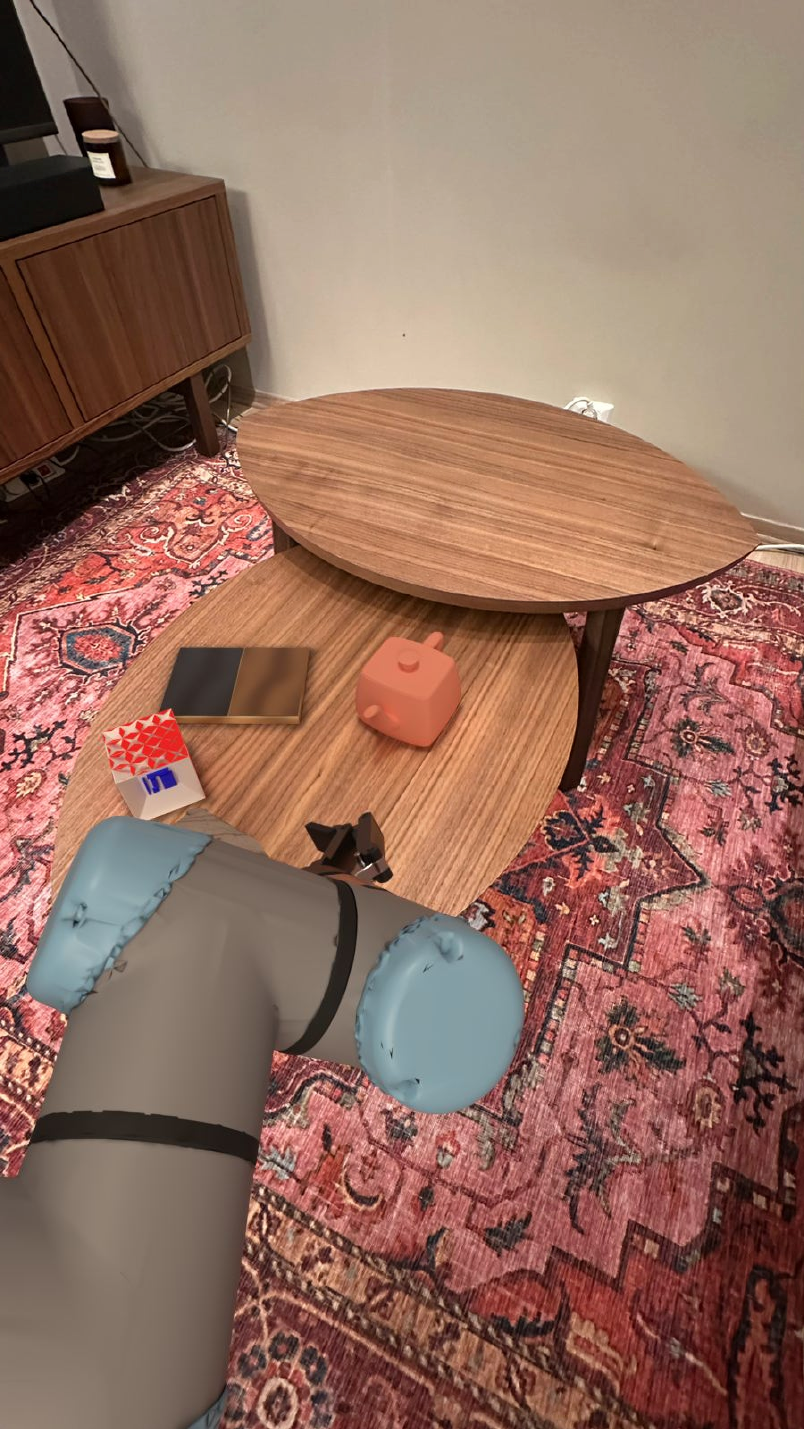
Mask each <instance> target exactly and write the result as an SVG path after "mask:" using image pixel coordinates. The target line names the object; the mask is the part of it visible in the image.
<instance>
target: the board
mask: <svg viewBox="0 0 804 1429" xmlns="http://www.w3.org/2000/svg"><path fill="white" fill-rule="evenodd" d="M310 658H311V649H310V647H308V646H307V647H305V646H304V647H303V646H301V647H300V646H297V647H296V646H295V647H294V646H293V647H292V646H291V647H290V646H289V647H285V646H284V647H283V646H274V647H273V646H262V647H261V646H208V647H207V646H180V647H179V650H178V652H177V656H176V659H175V662H174V665H173V667H172V671H171V674H170V677H169V679H168V683H167V685H166V689H165V692H164V695H163V697H162V700H161V704H160V707H159V710H158V713H159V712H162V711H165V710H167V709H170V708H171V709H172V711H173V714H174V716H175V719H176V721H177V724H183V725H184V724H188V725H189V724H193V725H194V724H195V725H196V724H198V725H199V724H202V725H203V724H207V725H208V724H209V725H210V724H211V725H213V724H214V725H215V724H216V725H217V724H218V725H220V724H222V725H224V724H225V725H227V724H228V725H230V724H232V725H233V724H234V725H299V724H301V717H302V711H303V704H304V697H305V692H306V684H307V678H308V671H309V665H310Z"/></svg>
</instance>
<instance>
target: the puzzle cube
mask: <svg viewBox="0 0 804 1429" xmlns="http://www.w3.org/2000/svg"><path fill="white" fill-rule="evenodd" d="M100 733H101V734H100V735H101V739H102V742H103V744H104V748H105V752H106V756H107V759H108V763H109V766H110V770H111V774H112V780H113V782H114V785H115V787H116V789H117V791H118V792H119V794H120V795H121V798H122V799H123V801H124V802H125V804H126V806H127V808H128V810H129V811H130V813H131V814H132V817H135V818H139V819H144V820H148V821H152V820H153V819H155V818H158V817H161V816H163V815H166V814H169V813H171V812H174V811H176V810H179V809H182V808H183V807H186V806H189V805H192V804H195V803H197V802H200V801H202V800H205V799H206V798H207V796H206V793H205V791H204V789H203V786H202V783H201V781H200V778H199V775H198V772H197V771H196V770H197V769H196V768H195V765H194V762H193V758H192V756H191V753H190V751H189V748H188V745H187V744H186V741H185V738H184V736H183V734H182V732H181V728H180V726H179V723H177V721H176V719H175V716H174V714H173V711H172V709H171V708H170V709H167V710H165V711H162V712H159V711H158V712H156V713H153V714H150V715H147V716H144V717H141V718H139V719H136V720H133V721H130V722H127V723H124V724H122V725H121V724H120V725H118V726H116V727H112V728H110V729H106V730H104V731H101V732H100Z"/></svg>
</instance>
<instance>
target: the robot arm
mask: <svg viewBox="0 0 804 1429" xmlns="http://www.w3.org/2000/svg"><path fill="white" fill-rule="evenodd" d="M303 826H304V828H305V830H306V832H307V834H308V836H309V837H310V839H311V841H312V843H313V845H314V846H315V848H316V850H317V851H318V852H320V853H323V854H322V856H321V857H320V858H319V859H317V860H314V861H312V862H310V864H309V865H307V866H303V867H300V868H299V867H296V866H293V865H291V864H288V863H285V862H282V861H279V860H277V859H275V858H271V857H269V856H268V857H266V856H263V855H260V854H257V853H255V852H252V851H249V850H246V849H243V848H241V847H238V846H235V845H232V844H230V843H227V842H224V841H221V840H218V839H216V838H213V835H210V834H205V832H204V833H201V832H197V831H193V830H189V829H185V828H181V827H177V826H173V824H168V823H164V822H161V821H156V820H144V819H139V818H135V817H134V816H129V815H113V816H110V817H107V818H105V819H102V820H100V821H99V822H98V823H96V824H95V825H94V826H93V827H92V828H90V830H88V832H87V833H86V835H85V836H84V838H83V840H82V842H81V843H80V845H79V847H78V849H77V851H76V854H75V855H74V857H73V859H72V861H71V863H70V865H69V868H68V870H67V872H66V874H65V876H64V879H63V880H62V883H61V886H60V888H59V891H58V893H57V895H56V898H55V900H54V903H53V905H52V907H51V909H50V912H49V914H48V916H47V919H46V921H45V923H44V927H43V929H42V932H41V935H40V937H39V940H38V942H37V946H36V950H35V953H34V955H33V958H32V959H31V962H30V965H29V967H28V970H27V974H26V980H25V987H26V991H27V993H28V995H29V996H30V997H31V998H32V999H33V1001H35V1002H37V1003H39V1004H42V1005H44V1006H46V1007H49V1008H51V1009H54V1010H56V1011H57V1012H58V1013H59V1014H62V1015H67V1016H68V1019H67V1023H66V1026H65V1029H64V1032H63V1036H62V1039H61V1041H60V1042H61V1043H60V1045H59V1050H58V1053H57V1056H56V1059H55V1061H54V1065H53V1069H52V1072H51V1075H50V1078H49V1082H48V1085H47V1088H46V1092H45V1094H44V1099H43V1101H42V1104H41V1108H40V1111H39V1115H38V1117H37V1119H36V1121H35V1124H34V1127H33V1130H32V1132H31V1135H30V1138H29V1141H28V1143H27V1147H26V1149H27V1150H26V1152H25V1154H24V1157H23V1159H22V1162H21V1164H20V1167H19V1170H18V1172H17V1174H16V1175H15V1176H0V1429H219V1426H220V1421H221V1419H222V1417H223V1415H224V1413H225V1411H226V1409H227V1405H228V1397H229V1386H228V1381H227V1377H228V1376H227V1375H228V1369H229V1368H228V1367H229V1360H230V1353H231V1346H232V1337H233V1331H234V1323H235V1316H236V1310H237V1309H236V1307H237V1302H238V1293H239V1287H240V1286H239V1285H240V1278H241V1271H242V1264H243V1256H244V1248H245V1242H246V1234H247V1226H248V1218H249V1211H250V1203H251V1197H252V1189H253V1180H254V1174H255V1171H256V1169H257V1168H256V1166H257V1164H258V1157H259V1151H260V1145H261V1139H262V1131H263V1126H264V1119H265V1113H266V1112H265V1111H266V1107H267V1106H266V1105H267V1100H268V1094H269V1093H268V1092H269V1086H270V1079H271V1074H272V1066H273V1060H274V1053H275V1052H277V1053H280V1054H284V1055H289V1056H294V1057H297V1056H301V1057H305V1058H309V1059H314V1060H319V1061H324V1062H329V1063H334V1064H339V1065H342V1066H343V1065H344V1066H348V1067H353V1068H355V1069H358V1070H361V1071H362V1072H364V1073H365V1075H366V1077H367V1079H368V1081H369V1082H370V1084H371V1085H372V1086H373V1087H376V1088H378V1089H379V1091H380V1092H381V1093H382V1094H384V1095H387V1096H390V1097H391V1098H393V1099H394V1100H395V1101H397V1103H399V1104H400V1105H403V1106H404V1107H406V1108H407V1109H409V1110H412V1111H415V1112H418V1113H422V1114H425V1115H446V1114H452V1113H456V1112H459V1111H462V1110H464V1109H466V1108H468V1107H471V1106H472V1105H474V1104H475V1103H477V1102H479V1101H480V1100H482V1099H483V1098H485V1097H486V1096H487V1095H488V1094H489V1093H490V1092H491V1091H492V1090H493V1089H494V1088H495V1087H496V1086H497V1085H498V1084H499V1083H500V1081H501V1080H502V1078H504V1075H505V1074H506V1073H507V1071H508V1069H509V1068H510V1066H511V1064H512V1062H513V1061H514V1058H515V1056H516V1055H517V1054H516V1053H517V1049H518V1046H519V1042H520V1040H521V1038H522V1031H523V1028H524V1022H525V1017H526V1016H525V1014H526V1013H525V1012H526V1011H525V1010H526V1004H525V1003H526V1002H525V994H524V988H523V987H524V986H523V984H522V980H521V978H520V974H519V972H518V970H517V967H516V965H515V964H514V963H515V962H514V961H513V959H512V958H511V956H510V955H509V954H508V952H507V951H506V949H505V948H504V947H503V946H502V945H501V944H500V943H499V942H497V941H496V940H495V939H494V938H492V937H491V936H489V935H487V934H486V933H483V931H480V930H478V929H476V928H474V927H472V926H471V922H470V921H468V920H467V919H465V918H463V917H457V916H455V915H454V916H453V915H450V914H447V913H444V912H443V913H442V912H440V911H438V910H436V909H432V908H430V907H428V906H425V905H423V904H421V903H418V902H416V901H414V900H411V899H407V898H405V897H403V896H400V895H397V894H395V893H393V892H392V891H389V889H386V888H384V887H382V886H380V885H378V884H385V883H387V882H389V881H390V880H392V878H393V877H394V875H395V874H394V872H393V870H392V868H391V867H390V864H389V863H388V861H387V860H386V845H385V844H386V842H385V840H386V839H385V835H384V833H383V831H382V830H381V828H380V826H379V824H378V822H377V820H376V819H375V817H374V815H373V813H372V812H371V811H366V812H363V813H361V815H359V817H358V819H357V823H356V824H355V825H353V824H352V823H351V822H346V823H343V824H340V823H338V824H335V825H333V826H329V825H325V824H321V823H318V822H314V821H309V822H308V823H306V824H305V825H303ZM375 882H377V883H378V884H376V883H375Z"/></svg>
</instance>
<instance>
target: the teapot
mask: <svg viewBox="0 0 804 1429" xmlns="http://www.w3.org/2000/svg"><path fill="white" fill-rule="evenodd" d="M444 638H445V637H444V635H443V633H442V632H440V631H433V632H432V633H430V634H429V635H428V636H427V637H426V638H425V640H424V641H423V642H422V643H420V642H417V641H414V640H410V639H407V638H403V637H399V636H398V637H397V636H391V637H388V638H387V639H386V640H385V641H384V642H383V643H382V645H381V646H379V648H378V649H377V650H376V651H375V653H374V654H373V655H372V656H371V657H370V658H369V660H368V661H367V662H366V664H365V665H364V666H363V668H361V671H360V674H359V677H358V680H357V685H356V690H355V711H356V713H357V715H358V717H359V718H360V719H361V721H363V722H364V723H365V724H366V725H368V726H369V727H371V728H373V729H374V730H376V731H378V732H380V733H382V734H384V735H386V736H387V737H390V738H392V739H396V740H398V741H400V742H404V743H407V744H411V745H414V746H418V747H423V748H424V747H430V746H431V745H432V744H433V743H434V742H435V740H436V739H437V738H438V737H439V735H440V734H441V733H442V732H443V730H444V729H445V727H447V725H448V723H449V722H450V720H451V718H452V717H453V715H454V713H455V712H456V710H457V708H458V706H459V704H460V703H461V699H462V684H461V683H462V682H461V677H460V674H459V671H458V667H457V664H456V662H455V659H454V658H452V657H451V656H450V655H447V654H446V653H444V652H442V649H443V645H444V640H445V639H444Z"/></svg>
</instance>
